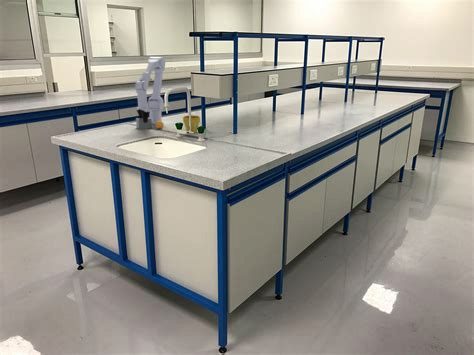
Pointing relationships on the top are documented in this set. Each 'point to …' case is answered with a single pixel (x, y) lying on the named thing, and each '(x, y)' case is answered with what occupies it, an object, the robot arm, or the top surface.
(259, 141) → the top surface
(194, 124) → the plant pot
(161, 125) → the ball
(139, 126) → the grey block
